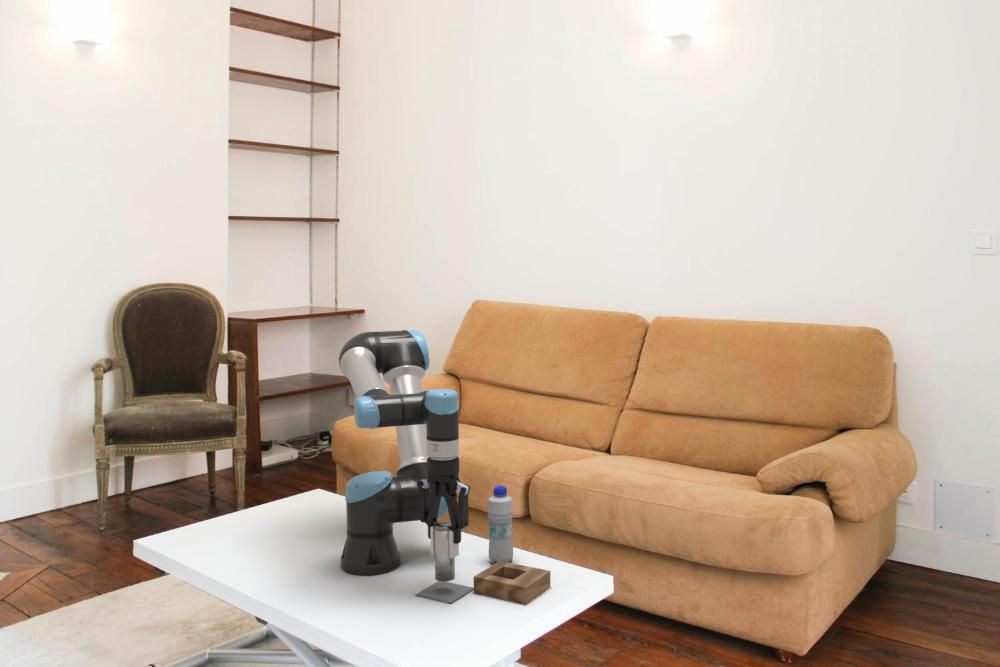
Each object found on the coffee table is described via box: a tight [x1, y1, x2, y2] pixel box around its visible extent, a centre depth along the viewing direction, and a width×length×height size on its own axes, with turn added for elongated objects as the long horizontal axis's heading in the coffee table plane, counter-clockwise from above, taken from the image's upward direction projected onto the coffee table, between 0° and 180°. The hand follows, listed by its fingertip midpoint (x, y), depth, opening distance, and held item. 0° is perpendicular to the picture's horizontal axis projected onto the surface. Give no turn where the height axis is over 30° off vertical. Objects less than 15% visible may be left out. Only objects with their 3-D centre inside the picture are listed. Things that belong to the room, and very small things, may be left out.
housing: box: [473, 561, 551, 606], centre depth 216 cm, size 14×12×4 cm
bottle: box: [486, 485, 514, 565], centre depth 234 cm, size 7×7×20 cm
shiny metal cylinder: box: [434, 521, 456, 582], centre depth 214 cm, size 5×5×13 cm
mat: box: [415, 581, 474, 605], centre depth 215 cm, size 10×10×1 cm
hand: (444, 554), depth 214 cm, fingers closed on shiny metal cylinder, 5 cm apart
